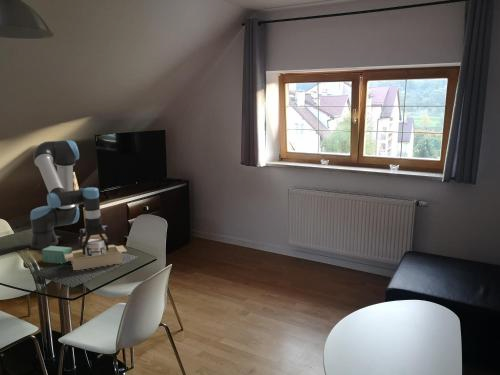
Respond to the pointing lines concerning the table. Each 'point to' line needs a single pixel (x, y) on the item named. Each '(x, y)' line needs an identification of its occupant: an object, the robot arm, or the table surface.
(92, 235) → the stand
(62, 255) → the box
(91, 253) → the ink box
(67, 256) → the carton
